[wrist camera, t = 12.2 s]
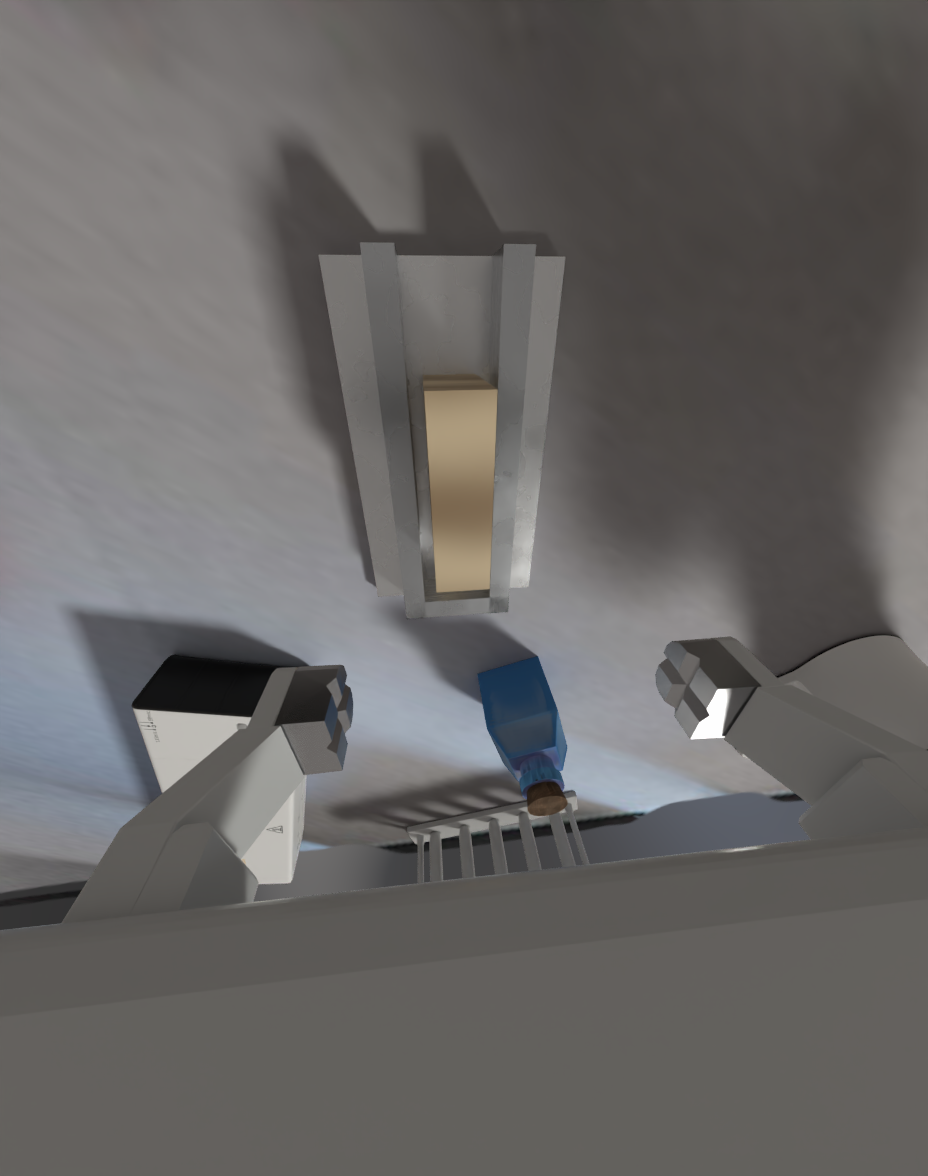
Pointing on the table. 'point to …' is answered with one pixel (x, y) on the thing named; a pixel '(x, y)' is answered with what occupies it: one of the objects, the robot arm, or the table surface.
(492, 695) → the perfume bottle
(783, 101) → the table surface
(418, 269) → the floor track
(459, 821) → the test tube rack
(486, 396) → the tan wooden block
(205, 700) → the laminator
